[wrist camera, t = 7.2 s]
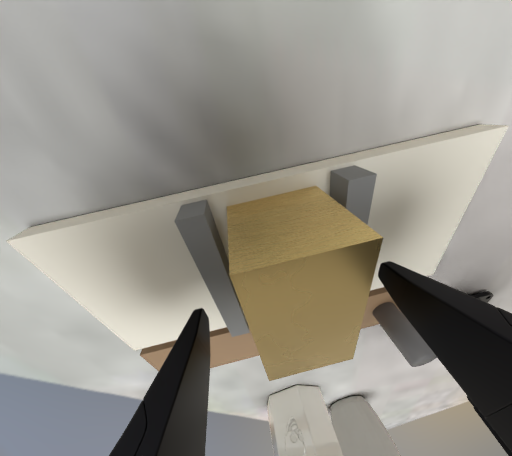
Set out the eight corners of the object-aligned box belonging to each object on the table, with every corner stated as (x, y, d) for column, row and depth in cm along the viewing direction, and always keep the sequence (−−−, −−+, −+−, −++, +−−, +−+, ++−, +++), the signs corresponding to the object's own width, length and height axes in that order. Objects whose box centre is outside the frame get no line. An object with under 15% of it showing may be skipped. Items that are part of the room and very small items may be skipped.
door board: (479, 124, 10) (681, 133, 6) (402, 304, 19) (456, 362, 14) (29, 227, 9) (-147, 331, 5) (170, 364, 18) (154, 444, 14)
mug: (314, 408, 34) (344, 504, 26) (354, 389, 32) (402, 488, 23) (348, 413, 40) (381, 492, 32) (384, 396, 38) (430, 478, 29)
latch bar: (316, 289, 13) (352, 358, 10) (256, 304, 13) (269, 381, 9) (316, 185, 9) (383, 237, 5) (226, 206, 9) (229, 275, 5)
